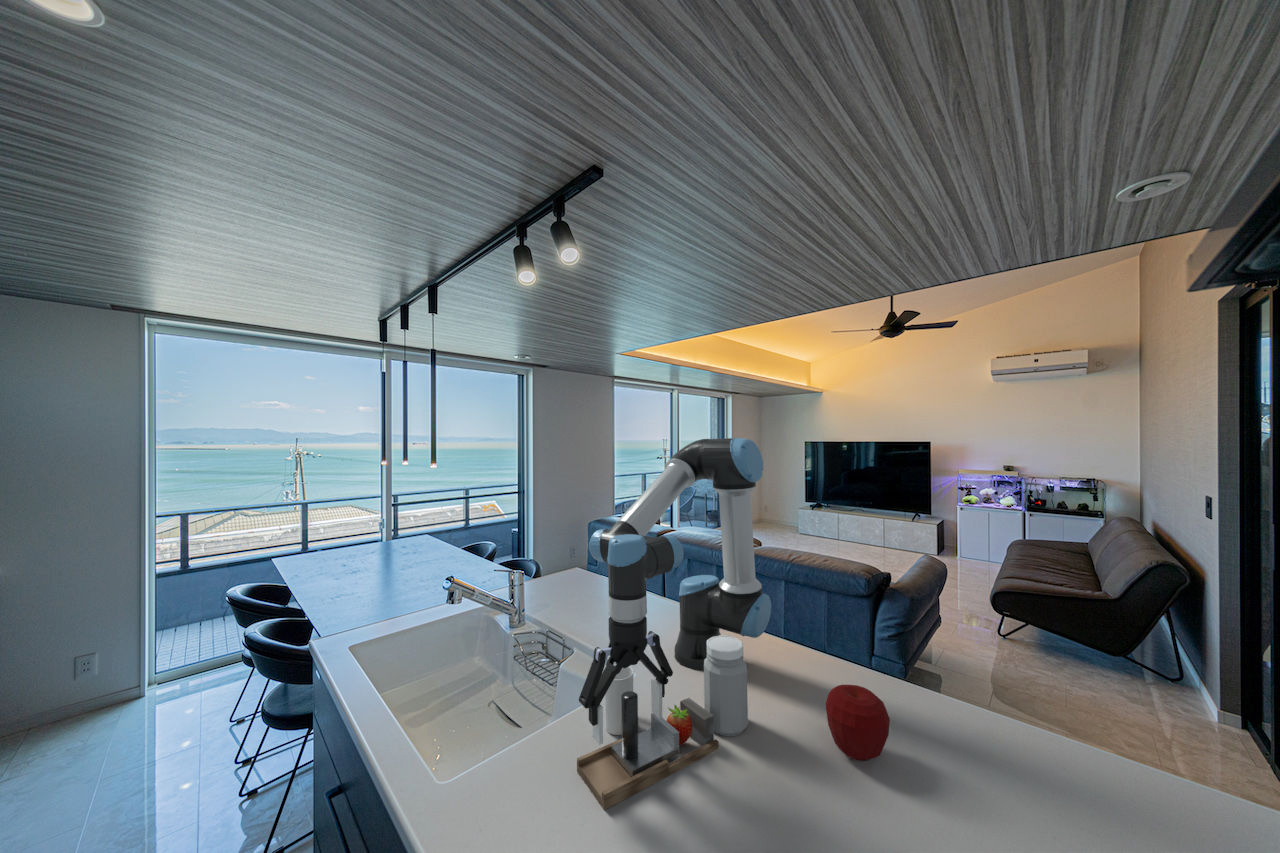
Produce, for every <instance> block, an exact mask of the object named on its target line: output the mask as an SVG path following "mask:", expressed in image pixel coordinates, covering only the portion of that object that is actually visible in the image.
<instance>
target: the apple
mask: <svg viewBox="0 0 1280 853" xmlns="http://www.w3.org/2000/svg"><path fill="white" fill-rule="evenodd" d="M825 711H826V719H827V724H828V727H829V730H830V733H831V736H832V738H833V741H834V743H835V746H836V747H837V748H838V749H839V751H841V753H843V754H844V755H845V756H846V757H848V758H850V759H851V760H854V761H857V762H865V761H869V760H872V759H875V758H878V757H880V756H881V754H882V753H883V751H884V748H885V745H886V743H887V740H888V738H889V734H890V733H889V732H890V723H891V719H890V718H891V717H890V716H889V714H888V711H887V708H886V706H885V703H884V701H882V700H881V699H880V698H879V696H877V695H876V694H875V693H874V692H873V691H872V690H869V689H868V688H866V687H863V686H860V685H857V684H856V685H855V684H839V685H837V686H835V687H833V688H831V689H830V691H829V692H828V693H827V697H826V699H825Z"/></svg>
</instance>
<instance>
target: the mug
mask: <svg viewBox="0 0 1280 853" xmlns="http://www.w3.org/2000/svg"><path fill="white" fill-rule="evenodd" d="M613 665H614V666H616V664H613ZM628 691H631V692H634V669H633V668H632V667H631V666H629V667H627V668H622V669H621V671H620V673H619V674H617V675H616V676H615V678H614V680H613V682H612V683H611V685H610V687H609V689H608V691H607V692H606V694H605V696H604V698H603V703H604V704H603V705H604V707H603V712H604V728H605V731H606V732H607V733H609V734H611V735H613V736H622V712H621V695H622V694H623V693H625V692H628Z"/></svg>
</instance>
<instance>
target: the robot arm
mask: <svg viewBox="0 0 1280 853" xmlns="http://www.w3.org/2000/svg"><path fill="white" fill-rule="evenodd" d="M664 465H665V466H664V469H663V471H662V472H661V473H660V474H659V475H658V476H657V477H656V478H655V480H654V481H653V482H652V483H651V484H650V485H649V486H648V487H647V488H646V489H645V491H643V493H642V494H641V495H640V496H639V497H638V498H637V499H636V500H635V501H634V502H633V503H632V504H631V505H630V507H628V509H627V510H626V511H625V512H624V513H623V514H622V515H621V516H620V518H618V520H617V521H616V522H615V523H614V524H613V525H612V526H611V527H610V528H609V529H608V528H599V529H598V530H596V531H594V532H593V534H592V535H591V537H590V540H589V545H588V546H589V547H588V548H589V552H590V555H591V557H592V558H593V559H594V560H596V561H599V562H602V563H604V564H607V574H608V575H607V578H608V579H607V582H608V615H609V616H608V617H609V618H608V638H609V642H608V646H607V647H605V648H600V647H599V646H596V647H595V648H594V650H593V660H592V663H591V664H590V668H589V670H588V673H587V675H586V678H585V681H584V684H583V687H582V689H581V691H580V694H579V697H578V702H579V703H580V704H581V705H582V706H583V708H585V709H588V722H589V723H590V725H591V726H592V738H593V739H594V740H595V742H596V743H597V744H598V745H602V744H604V707H603V706H602V704H601V703H602V701H603V700H604V696H605V694H606V692H607V691H608V689H609V687H610V685H611V683H612V682H613V680H614V678H615V676H616V675H617V674H619V673H620V671H621V669H622V668H627V667H631V666H636V665H638V663H639V662H640V663H641V664H642V665H643V666H644V667H645V668H646V669H647V671H649V673H651V675H652V676H653V677H654V678H652V679H651V682H650V683H651V685H650V686H651V688H650V690H651V691H650V692H651V694H650V695H651V713H654V714H655V715H656V716H657V717H658V718H659V719H660V718H663V698H665V695H666V692H665V690H666V689H665V688H666V687H665V686H666V685H667V684H668V683H669V677H672V676H673V675H674V672H673V669H672V667H671V665H670V663H669V661H668V658H667V655H666V654H665V652H664V650H663V648H662V646H661V638H660V634H657V633H655V632H654V631H652V630H649V631H648V621H647V620H648V619H647V613H648V608H647V607H648V604H647V603H648V602H647V600H648V599H647V580H650V579H652V578H655V577H658V576H660V575H663V574H666V573H669V572H672V571H673V570H675V569H676V568H678V567H679V566H680V565H681V564H682V562H683V559H684V547H683V546H682V543H681V542H680V540H679V539H678V538H676V536H674V535H671V534H665V535H659V536H648V535H647V534H648V533H649V532H650V531H651V530H652V528H653V527H654V526H655V525H656V523H657V522H658V521H659V520H660V519H661V518H662V517H663V515H664V513H666V512H667V511H668V509H669V508H670V507H671V506H672V504H673V503H674V502H675V501H676V500H677V499H678V498H679V496H680V495H681V493H682V492H683V491H684V490H685V489H687V488H690V487H691V486H693V485H694V483H695V482H697V481H700V480H712V488H713V490H714V491H716V492H717V493H718V498H719V499H718V500H719V516H720V531H721V532H720V533H721V535H720V536H721V545H722V548H721V549H722V566H723V578H722V579H721V580H720V579H719V578H718V577H717V576H715V575H713V574H712V575H711V574H700V575H693V576H689V577H686V578H684V579H683V580H681V582H680V584H679V592H678V593H679V594H678V596H679V631H678V632H679V633H678V636H677V640H676V643H675V646H674V658H675V660H676V662H678V663H679V664H681V666H683V667H684V666H685V667H686V668H690V669H695V670H704V660H705V659H706V657H707V640H708V639H710V638H711V637H714V636H719V635H722V634H721V631H720V630H723V631H727V632H730V633H733V634H737V635H741V636H742V637H748V638H752V639H757V638H759V637H760V636H762V634H764V632H765V630H766V628H767V626H768V624H769V621H770V617H771V613H772V600H771V598H770V596H769V595H768V594H767V593H763V588H762V587H763V586H762V583H761V582H760V581H759V580H758V579H757V578H756V565H755V562H756V561H755V548H754V545H755V544H754V528H753V513H752V512H753V511H752V495H751V493H752V492H753V491H754V490H755V489H756V487H757V482H760V480H761V478H762V477H763V471H764V459H763V455H762V452H761V449H760V448H759V446H758V445H757V443H755V442H754V440H752V439H749V438H740V437H731V438H702V439H698V440H695V441H693V442H690V443H688V444H687V445H685V446H684V447H682V448H681V449H679V450H678V451H677V452H676V453H675V454H673V455H672V456H671V457H670V458H669V459H668V460H667V462H666V463H665V464H664ZM648 645H649V647H650V649H651V652H652V654H653V656H654V657H655V660H656V662H657V664H658V666H659V668H658V667H657V666H656V665H655V663H653V661H652V659H650V658H649V657H648V655H647V654H646V653H645V651H646V648H647V646H648ZM614 665H616V666H614Z"/></svg>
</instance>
